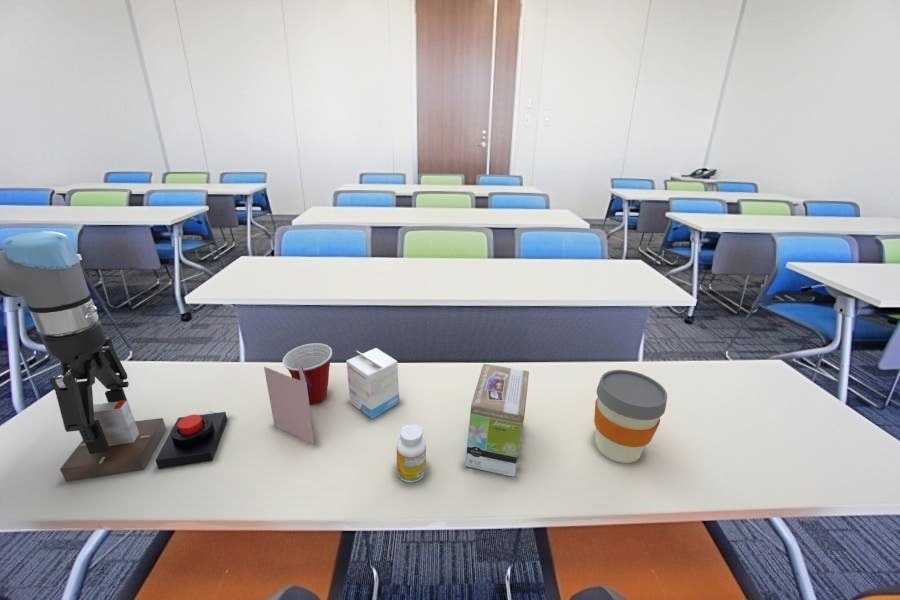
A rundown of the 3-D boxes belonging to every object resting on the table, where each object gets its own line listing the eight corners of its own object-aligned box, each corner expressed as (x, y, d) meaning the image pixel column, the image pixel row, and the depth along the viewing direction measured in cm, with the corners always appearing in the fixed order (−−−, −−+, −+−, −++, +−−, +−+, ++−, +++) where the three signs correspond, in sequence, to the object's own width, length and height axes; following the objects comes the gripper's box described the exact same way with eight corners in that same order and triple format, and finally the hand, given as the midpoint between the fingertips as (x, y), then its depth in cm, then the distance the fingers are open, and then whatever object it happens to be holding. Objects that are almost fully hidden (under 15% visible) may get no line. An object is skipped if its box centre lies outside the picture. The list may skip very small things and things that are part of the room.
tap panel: (65, 482, 70) (58, 468, 69) (98, 437, 80) (93, 425, 79) (143, 470, 73) (138, 457, 72) (166, 428, 83) (162, 416, 82)
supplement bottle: (397, 461, 77) (396, 421, 73) (425, 460, 78) (425, 420, 74) (396, 484, 72) (395, 443, 68) (426, 482, 73) (426, 441, 69)
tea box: (516, 478, 74) (525, 415, 68) (464, 467, 76) (468, 405, 70) (522, 425, 88) (529, 368, 82) (477, 417, 90) (481, 361, 84)
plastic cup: (285, 390, 96) (279, 348, 91) (331, 380, 101) (327, 338, 96) (292, 418, 87) (284, 372, 83) (341, 404, 92) (337, 360, 87)
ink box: (400, 403, 93) (399, 354, 88) (370, 420, 88) (368, 368, 82) (377, 387, 99) (375, 340, 93) (348, 402, 93) (344, 353, 88)
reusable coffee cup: (592, 418, 91) (604, 362, 85) (652, 438, 85) (669, 380, 79) (580, 454, 80) (593, 393, 75) (648, 479, 75) (668, 416, 69)
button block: (158, 469, 73) (152, 452, 72) (180, 425, 84) (176, 410, 82) (212, 461, 76) (208, 444, 74) (227, 419, 86) (224, 404, 85)
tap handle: (89, 448, 73) (74, 413, 70) (97, 439, 76) (82, 404, 72) (133, 442, 75) (121, 407, 72) (139, 433, 77) (127, 399, 74)
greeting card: (319, 443, 81) (311, 382, 75) (280, 455, 77) (268, 392, 71) (308, 410, 90) (301, 353, 84) (273, 420, 87) (262, 361, 81)
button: (176, 436, 76) (174, 429, 75) (183, 422, 80) (181, 415, 79) (199, 433, 77) (198, 426, 76) (205, 420, 81) (204, 413, 80)
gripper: (58, 357, 57) (107, 474, 66) (126, 300, 76) (157, 397, 85) (-6, 363, 55) (53, 482, 65) (80, 303, 74) (116, 401, 83)
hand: (112, 433), depth 75 cm, fingers open, 8 cm apart
